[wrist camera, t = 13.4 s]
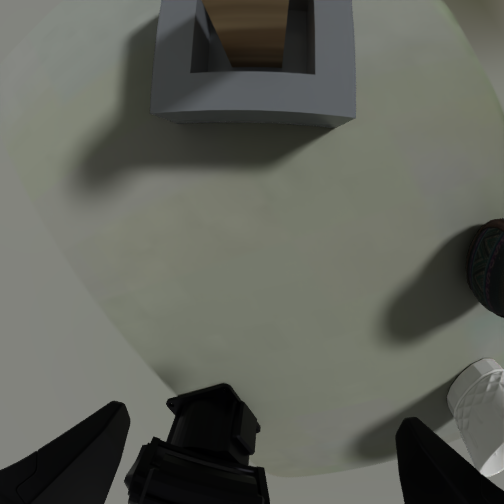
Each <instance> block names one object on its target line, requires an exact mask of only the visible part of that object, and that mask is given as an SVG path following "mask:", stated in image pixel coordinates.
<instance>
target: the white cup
mask: <svg viewBox="0 0 504 504" xmlns="http://www.w3.org/2000/svg"><path fill="white" fill-rule="evenodd" d="M447 403H448V407H449V409H450V411H451V413H452V415H453V417H454V418H455V422H456V425H457V427H458V429H459V431H460V433H461V436H462V439H463V441H464V443H465V445H466V447H467V450H468V452H469V454H470V456H471V459H472V461H473V463H474V466H475V468H476V469H477V470H478V471H479V472H480V473H481V474H483V475H484V476H485V477H486V478H487V477H490V476H493V475H495V474H497V473H499V472H501V471H502V470H504V369H503V368H502V367H501V366H500V365H499V364H498V363H497V362H496V361H495V360H494V359H482V360H479V361H477V362H475V363H473V364H471V365H470V366H469V367H468V368H467V369H465V370H464V371H463V372H462V373H461V374H460V375H459V376H458V377H457V379H456V380H455V381H454V383H453V384H452V385H451V387H450V390H449V392H448V395H447Z"/></svg>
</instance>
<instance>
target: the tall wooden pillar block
mask: <svg viewBox="0 0 504 504" xmlns="http://www.w3.org/2000/svg"><path fill="white" fill-rule="evenodd" d="M202 2H203V4H204V6H205V9H206V11H207V13H208V15H209V17H210V19H211V21H212V24H213V26H214V28H215V30H216V32H217V34H218V37H219V39H220V41H221V43H222V46H223V48H224V50H225V52H226V55H227V57H228V59H229V61H230V64H231V66H232V67H276V68H282V61H283V52H284V43H285V33H286V24H287V14H288V5H289V0H202Z"/></svg>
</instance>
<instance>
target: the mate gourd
mask: <svg viewBox="0 0 504 504" xmlns="http://www.w3.org/2000/svg"><path fill="white" fill-rule="evenodd" d="M466 273H467V280H468V284H469V287H470V289H471V290H472V291H473V293H474V295H475V296H476V297H477V299H478V300H479V302H480V303H481V304H482V305H483V306H484V307H485V308H486V309H488V310H489V311H491V312H493V313H494V314H496V315H498V316H500V317H502V318H504V219H503V218H502V219H501V218H500V219H494V220H490V221H489V222H487V223H486V224H485V225H483V226H482V227H481V228H480V229H479V231H478V232H477V234H476V236H475V238H474V239H473V241H472V243H471V245H470V248H469V251H468V255H467V261H466Z"/></svg>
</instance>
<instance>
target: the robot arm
mask: <svg viewBox="0 0 504 504" xmlns="http://www.w3.org/2000/svg"><path fill="white" fill-rule="evenodd" d="M224 389H227V390H224ZM171 403H172V404H171ZM166 405H167V406H168V408H169V409H170V410H171V411H172V412H173V413H174V414H175V419H174V421H173V424H172V427H171V430H170V433H169V435H168V438H167V441H166V442H164V441H162V440H160V439H159V438H157V437H153V439H152V441H151V443H148V444H147V445H142V448H141V450H140V453H139V455H138V457H137V459H136V461H135V463H134V464H133V466H132V468H131V469H130V471H129V472H128V474H127V475H126V477H125V480H124V483H125V484H126V486H127V488H128V490H129V491H128V495H129V500H128V504H270V499H269V493H268V488H267V482H266V476H265V470H264V468H263V467H258V466H257V467H253V466H248V464H249V455H253V454H254V452H255V440H256V433H259V432H260V428H261V427H260V425H259V424H258V422H257V419H256V417H255V416H254V414H253V413H252V412H251V410H250V409H249V408H248V406H247V405H246V404H245V402H243V401H241V400H240V398H239V397H238V395H237V394H236V393H235V391H234V390H233V388H232V387H231V386H230V385H228V384H221V385H218V386H214V387H211V388H207V389H204V390H200V391H196V392H193V393H189V394H185V395H181V396H177V397H173V398H170V399H168V400H167V403H166ZM129 427H130V417H129V414H128V411H127V408H126V406H125V404H124V403H122V402H118V401H112V402H110V403H108V404H107V405H106V406H104V407H102V408H101V409H99V410H98V411H97V412H95V413H94V414H92V415H91V416H89V417H88V418H86V419H85V420H83V421H82V422H80V423H79V424H77V425H76V426H74V427H73V428H71V429H70V430H68V431H67V432H65V433H64V434H62V435H60V436H59V437H57V438H56V439H54V440H53V441H51V442H50V443H48V444H46V445H45V446H43V447H42V448H40V449H39V450H38V451H35V452H34V453H32V454H31V455H29V456H27V457H25V458H24V459H22V460H20V461H18V462H17V463H14V464H12V465H10V466H8V467H6V468H4V469H2V470H0V504H104V503H105V500H106V498H107V495H108V492H109V489H110V487H111V484H112V482H113V479H114V477H115V474H116V471H117V469H118V466H119V463H120V461H121V457H122V453H123V450H124V446H125V441H126V438H127V434H128V430H129ZM395 439H396V448H397V458H398V469H399V476H400V482H401V487H402V492H403V497H404V502H405V504H504V491H503V490H502V489H500V488H499V487H497V486H496V485H495V484H494V483H492V482H491V481H490V480H489V479H487V478H486V477H485V476H484V475H483V474H481V473H480V472H479V471H478V470H477V469H476V468H474V467H473V466H472V465H471V464H470V463H469V462H467V461H466V460H465V459H464V458H463V457H462V456H461V455H459V454H458V453H457V452H456V451H455V450H454V449H452V448H451V447H450V446H449V445H448V444H447V443H446V442H445V441H443V440H442V439H441V438H440V437H439V436H438V435H437V434H435V433H434V432H433V431H432V430H431V429H430V428H429V427H427V426H426V425H425V424H424V423H423V422H422V421H421V420H419V419H418V418H417V417H409V418H405V419H404V420H403V422H402V423H401V425H400V427H399V429H398V431H397V433H396V437H395Z"/></svg>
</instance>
